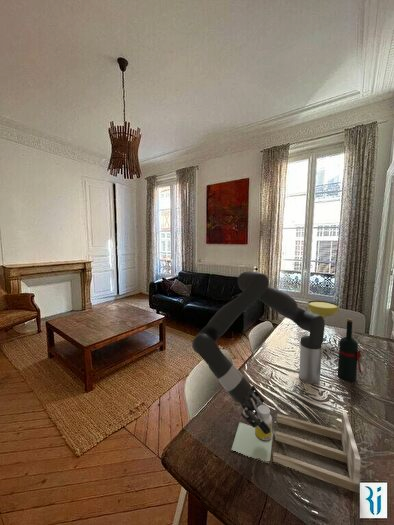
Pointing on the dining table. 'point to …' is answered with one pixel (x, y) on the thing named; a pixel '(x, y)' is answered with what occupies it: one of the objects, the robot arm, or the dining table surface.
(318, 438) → the dining table surface
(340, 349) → the wine bottle
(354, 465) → the lane rack
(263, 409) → the supplement bottle
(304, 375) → the robot arm
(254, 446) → the mat
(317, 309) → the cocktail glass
